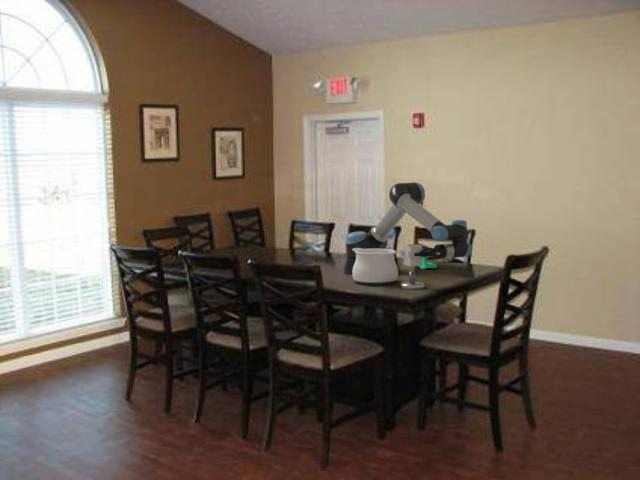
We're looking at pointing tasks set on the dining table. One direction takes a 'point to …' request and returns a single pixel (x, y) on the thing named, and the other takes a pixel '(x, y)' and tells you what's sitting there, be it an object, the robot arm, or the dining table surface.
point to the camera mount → (427, 264)
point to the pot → (375, 266)
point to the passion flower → (446, 259)
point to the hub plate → (414, 286)
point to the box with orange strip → (412, 260)
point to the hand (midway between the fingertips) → (404, 254)
